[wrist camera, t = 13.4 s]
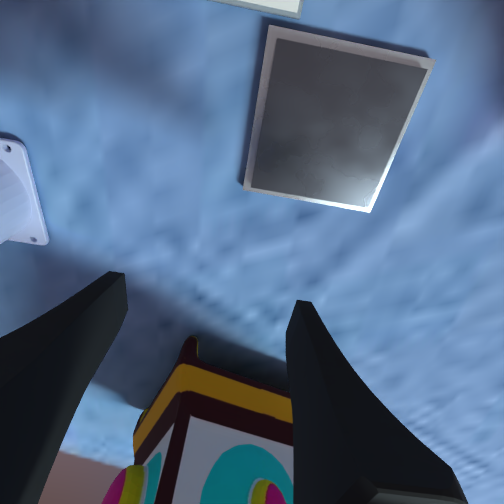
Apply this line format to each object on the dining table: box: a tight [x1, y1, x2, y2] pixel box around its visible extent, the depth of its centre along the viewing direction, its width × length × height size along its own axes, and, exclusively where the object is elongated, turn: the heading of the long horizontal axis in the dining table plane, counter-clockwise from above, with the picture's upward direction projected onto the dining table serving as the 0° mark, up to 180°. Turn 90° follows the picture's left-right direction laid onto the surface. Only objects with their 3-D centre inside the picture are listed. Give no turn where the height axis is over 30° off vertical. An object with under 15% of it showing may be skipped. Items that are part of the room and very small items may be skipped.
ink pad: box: [243, 25, 436, 212], centre depth 18 cm, size 9×9×1 cm
